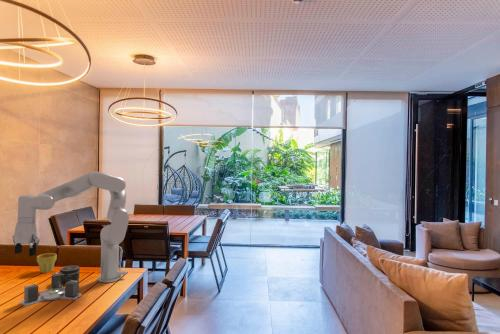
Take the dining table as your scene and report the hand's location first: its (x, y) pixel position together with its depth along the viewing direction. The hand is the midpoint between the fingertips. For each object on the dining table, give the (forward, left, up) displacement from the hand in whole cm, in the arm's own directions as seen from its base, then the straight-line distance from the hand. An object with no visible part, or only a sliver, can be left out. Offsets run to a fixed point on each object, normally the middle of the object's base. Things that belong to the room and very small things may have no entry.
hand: (25, 254), depth 159 cm
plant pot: (-3, -41, -22) cm, 47 cm away
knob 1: (-4, +8, -20) cm, 22 cm away
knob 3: (-22, +8, -20) cm, 31 cm away
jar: (-18, -17, -22) cm, 33 cm away
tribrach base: (-13, 0, -22) cm, 25 cm away
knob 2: (-13, -8, -20) cm, 25 cm away
